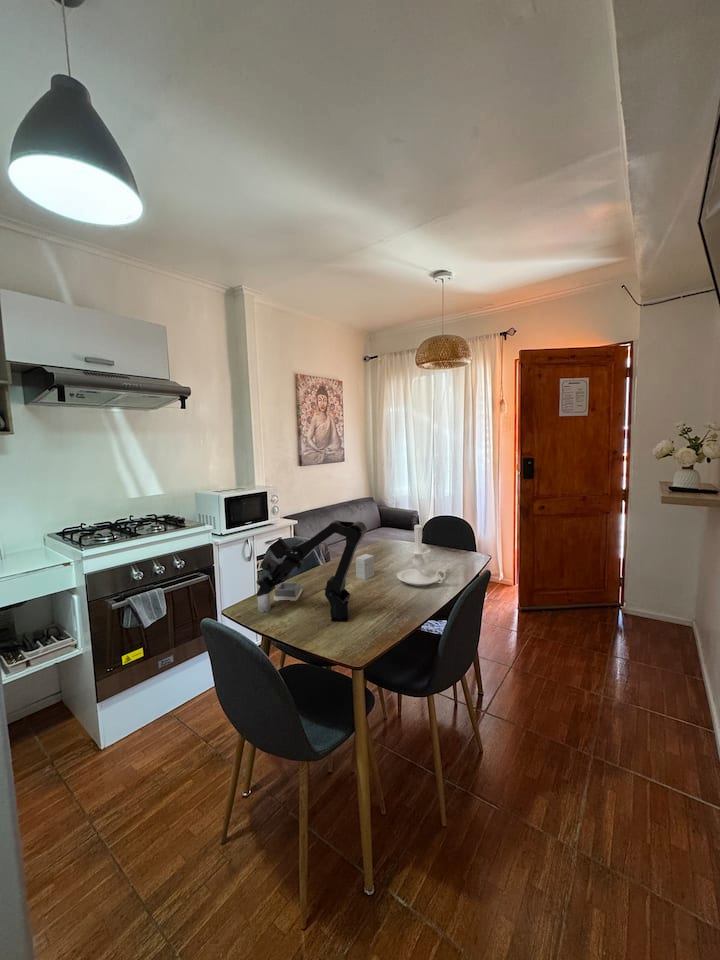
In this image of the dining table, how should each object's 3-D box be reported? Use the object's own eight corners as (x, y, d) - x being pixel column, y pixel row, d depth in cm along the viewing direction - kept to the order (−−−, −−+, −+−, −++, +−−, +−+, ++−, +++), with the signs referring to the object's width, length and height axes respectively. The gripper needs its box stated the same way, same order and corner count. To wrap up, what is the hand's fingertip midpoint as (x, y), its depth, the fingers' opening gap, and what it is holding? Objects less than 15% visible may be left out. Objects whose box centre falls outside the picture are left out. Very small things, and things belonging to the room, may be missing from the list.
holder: (302, 591, 184) (301, 582, 183) (296, 600, 174) (295, 590, 173) (281, 591, 185) (280, 581, 184) (273, 600, 175) (273, 590, 174)
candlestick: (436, 596, 174) (435, 533, 171) (388, 584, 189) (387, 526, 186) (456, 581, 190) (456, 523, 187) (411, 571, 205) (410, 518, 202)
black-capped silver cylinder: (272, 606, 168) (270, 578, 167) (268, 612, 163) (266, 582, 162) (260, 606, 169) (259, 578, 167) (256, 611, 164) (254, 582, 162)
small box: (366, 573, 205) (365, 553, 204) (374, 575, 201) (374, 555, 200) (355, 578, 199) (355, 557, 198) (364, 580, 195) (364, 559, 194)
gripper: (283, 546, 171) (261, 569, 175) (260, 559, 153) (237, 585, 157) (301, 565, 169) (279, 588, 174) (280, 581, 151) (256, 606, 156)
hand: (263, 591), depth 165 cm, fingers open, 9 cm apart
